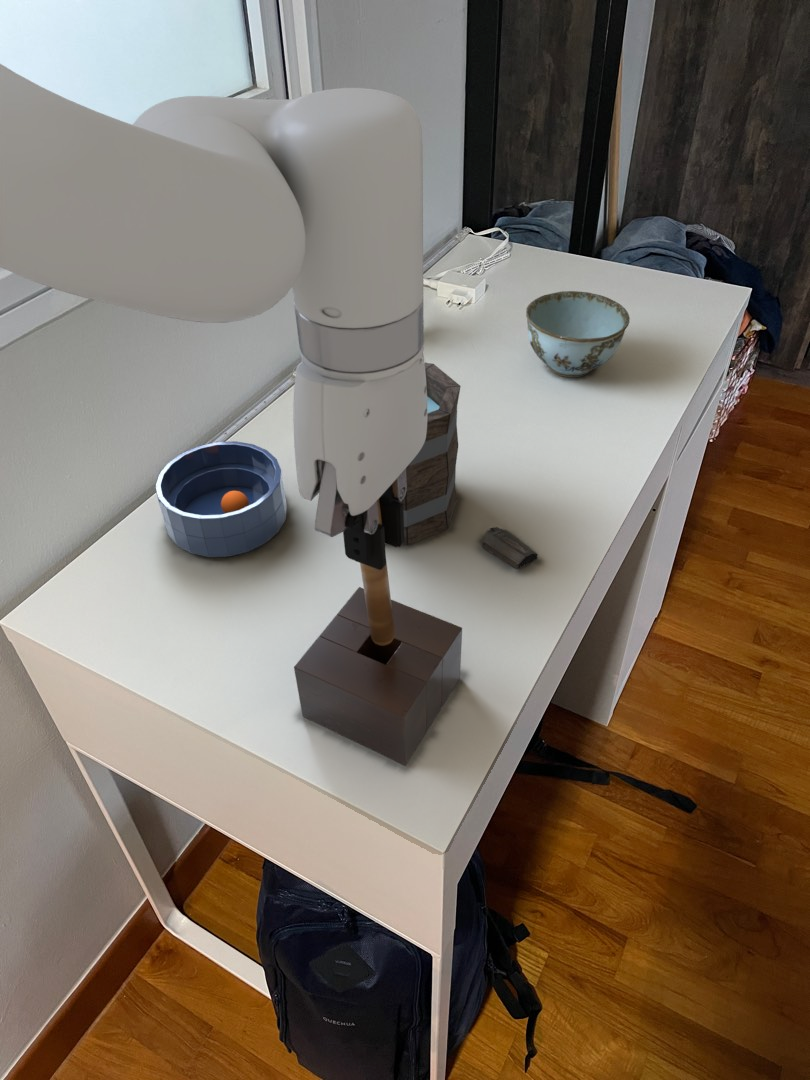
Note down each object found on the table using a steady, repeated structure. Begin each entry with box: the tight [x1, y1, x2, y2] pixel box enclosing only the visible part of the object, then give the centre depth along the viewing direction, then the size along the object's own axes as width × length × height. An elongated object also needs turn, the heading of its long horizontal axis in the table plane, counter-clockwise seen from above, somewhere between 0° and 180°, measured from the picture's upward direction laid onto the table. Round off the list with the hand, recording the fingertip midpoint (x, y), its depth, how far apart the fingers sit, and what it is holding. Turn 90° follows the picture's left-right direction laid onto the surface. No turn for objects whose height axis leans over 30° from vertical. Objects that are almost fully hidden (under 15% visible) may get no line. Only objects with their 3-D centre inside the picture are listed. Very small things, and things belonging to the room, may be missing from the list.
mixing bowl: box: [155, 440, 288, 558], centre depth 90 cm, size 13×13×6 cm
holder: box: [293, 586, 463, 766], centre depth 71 cm, size 10×10×7 cm
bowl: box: [525, 290, 631, 378], centre depth 111 cm, size 14×13×8 cm
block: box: [481, 526, 539, 570], centre depth 86 cm, size 4×6×2 cm, turn 40°
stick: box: [359, 499, 395, 646], centre depth 63 cm, size 2×2×16 cm
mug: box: [399, 362, 462, 546], centre depth 89 cm, size 20×14×15 cm
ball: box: [221, 491, 249, 513], centre depth 90 cm, size 3×3×3 cm
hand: (375, 549), depth 61 cm, fingers closed on stick, 2 cm apart
